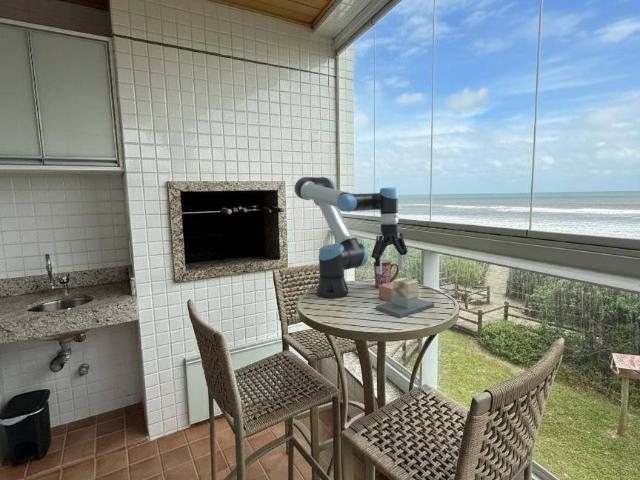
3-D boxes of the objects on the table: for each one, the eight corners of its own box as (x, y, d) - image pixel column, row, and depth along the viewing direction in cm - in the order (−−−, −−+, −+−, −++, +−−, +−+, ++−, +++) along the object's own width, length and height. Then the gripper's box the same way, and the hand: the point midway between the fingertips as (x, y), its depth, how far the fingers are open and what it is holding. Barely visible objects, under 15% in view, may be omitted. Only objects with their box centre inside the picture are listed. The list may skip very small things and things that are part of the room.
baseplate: (375, 309, 135) (375, 296, 134) (409, 299, 146) (408, 287, 146) (400, 318, 124) (400, 303, 124) (434, 306, 136) (434, 293, 135)
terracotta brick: (378, 298, 150) (378, 285, 150) (388, 295, 154) (388, 283, 153) (391, 302, 144) (391, 288, 143) (401, 299, 147) (401, 286, 146)
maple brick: (393, 294, 136) (392, 280, 135) (403, 291, 139) (403, 277, 139) (408, 298, 129) (408, 283, 129) (418, 295, 133) (418, 281, 132)
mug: (374, 289, 164) (373, 262, 163) (372, 284, 173) (372, 259, 172) (400, 289, 163) (400, 262, 162) (397, 284, 172) (397, 258, 171)
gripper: (374, 225, 135) (375, 277, 137) (415, 221, 148) (415, 268, 151) (362, 225, 141) (363, 274, 143) (402, 221, 155) (403, 266, 157)
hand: (390, 271), depth 147 cm, fingers open, 13 cm apart
